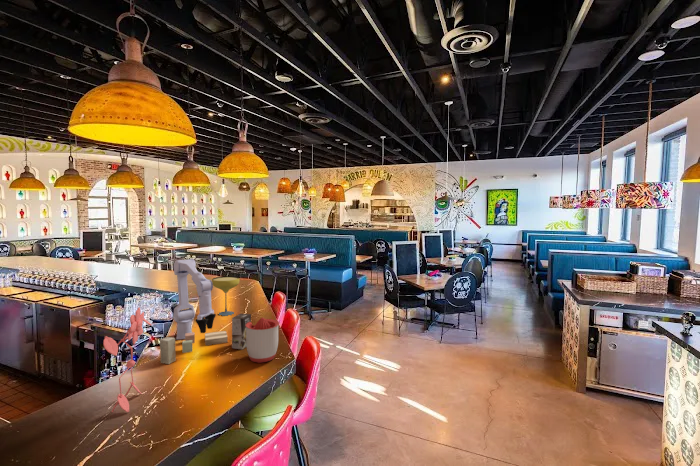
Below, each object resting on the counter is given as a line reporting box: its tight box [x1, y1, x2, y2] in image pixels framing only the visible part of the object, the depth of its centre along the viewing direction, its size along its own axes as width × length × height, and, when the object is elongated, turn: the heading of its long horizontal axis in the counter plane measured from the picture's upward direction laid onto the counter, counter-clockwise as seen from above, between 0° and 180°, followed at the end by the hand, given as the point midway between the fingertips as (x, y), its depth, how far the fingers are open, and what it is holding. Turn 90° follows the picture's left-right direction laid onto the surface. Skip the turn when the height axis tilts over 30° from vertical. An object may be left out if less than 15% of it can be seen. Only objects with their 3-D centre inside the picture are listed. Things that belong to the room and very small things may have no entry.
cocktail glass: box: [211, 275, 240, 317], centre depth 234 cm, size 18×18×25 cm
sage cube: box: [181, 340, 193, 354], centre depth 170 cm, size 4×4×4 cm
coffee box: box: [231, 313, 252, 350], centre depth 177 cm, size 9×6×16 cm
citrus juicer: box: [246, 317, 280, 364], centre depth 163 cm, size 16×17×20 cm
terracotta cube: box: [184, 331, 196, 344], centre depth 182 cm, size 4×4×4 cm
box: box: [159, 336, 177, 365], centre depth 157 cm, size 5×4×11 cm
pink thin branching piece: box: [103, 307, 153, 413], centre depth 122 cm, size 15×26×35 cm, turn 11°
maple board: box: [204, 330, 228, 346], centre depth 184 cm, size 11×11×3 cm
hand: (206, 330), depth 171 cm, fingers open, 7 cm apart
